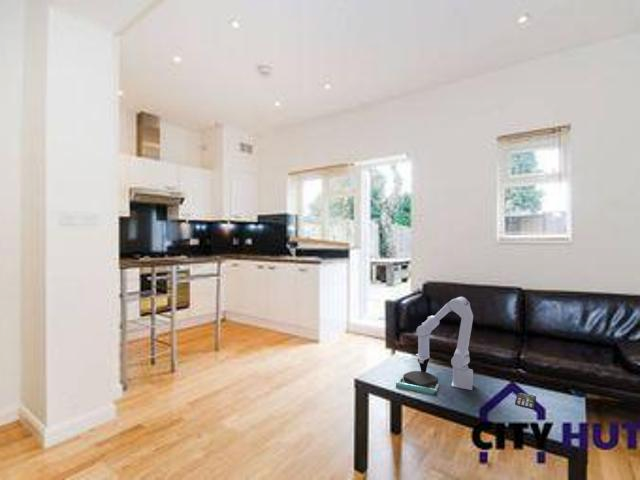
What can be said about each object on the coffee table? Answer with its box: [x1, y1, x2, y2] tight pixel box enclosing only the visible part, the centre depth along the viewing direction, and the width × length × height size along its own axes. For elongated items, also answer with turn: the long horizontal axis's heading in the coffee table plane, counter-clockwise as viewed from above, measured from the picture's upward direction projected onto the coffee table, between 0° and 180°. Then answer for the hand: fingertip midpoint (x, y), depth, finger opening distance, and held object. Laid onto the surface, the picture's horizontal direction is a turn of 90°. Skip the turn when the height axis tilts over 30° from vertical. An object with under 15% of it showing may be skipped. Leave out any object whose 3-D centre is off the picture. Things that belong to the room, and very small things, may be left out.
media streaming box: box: [402, 370, 439, 388], centre depth 178 cm, size 15×15×3 cm
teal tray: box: [395, 376, 440, 396], centre depth 172 cm, size 19×10×2 cm, turn 63°
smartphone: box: [514, 392, 537, 410], centre depth 158 cm, size 7×1×15 cm
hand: (423, 372), depth 187 cm, fingers closed
